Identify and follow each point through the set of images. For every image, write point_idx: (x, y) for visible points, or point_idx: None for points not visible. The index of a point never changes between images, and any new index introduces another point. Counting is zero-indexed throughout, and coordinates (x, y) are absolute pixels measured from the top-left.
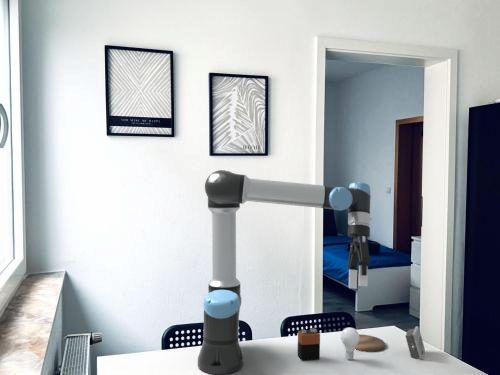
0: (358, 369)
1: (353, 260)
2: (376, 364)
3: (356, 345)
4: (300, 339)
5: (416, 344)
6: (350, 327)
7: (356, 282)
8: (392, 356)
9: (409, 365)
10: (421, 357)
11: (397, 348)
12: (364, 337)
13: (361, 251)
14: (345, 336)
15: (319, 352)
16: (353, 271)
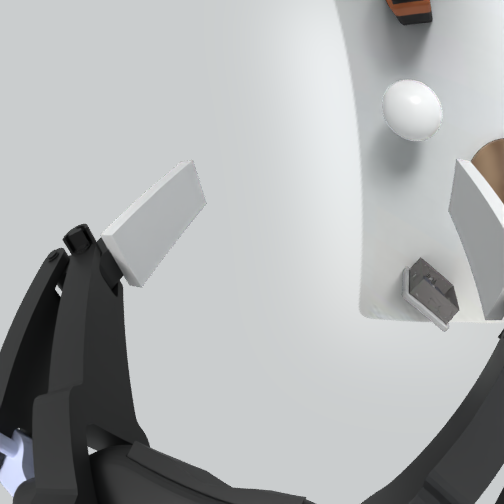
0: (360, 106)
1: (485, 386)
2: (391, 161)
3: (491, 159)
4: None
5: (405, 281)
6: (417, 116)
7: (459, 233)
8: (433, 222)
9: (385, 230)
10: (403, 271)
11: None
12: None
13: (16, 314)
14: (389, 87)
15: (399, 20)
16: (495, 277)
